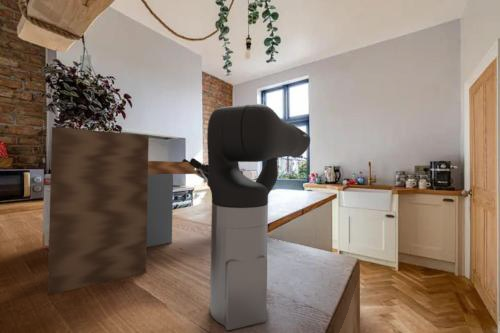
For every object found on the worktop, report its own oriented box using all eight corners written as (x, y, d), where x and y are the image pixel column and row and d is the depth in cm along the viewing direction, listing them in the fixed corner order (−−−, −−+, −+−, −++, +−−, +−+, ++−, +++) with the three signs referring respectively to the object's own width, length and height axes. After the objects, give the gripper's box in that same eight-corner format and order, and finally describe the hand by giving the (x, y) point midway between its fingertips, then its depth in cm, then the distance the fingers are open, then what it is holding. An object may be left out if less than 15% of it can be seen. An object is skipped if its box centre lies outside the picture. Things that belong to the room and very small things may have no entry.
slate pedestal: (163, 234, 76) (165, 173, 77) (171, 242, 68) (173, 174, 68) (108, 242, 67) (110, 173, 68) (110, 253, 59) (112, 174, 59)
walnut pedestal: (139, 257, 57) (141, 140, 57) (145, 272, 48) (148, 135, 49) (56, 273, 48) (59, 133, 48) (47, 295, 39) (51, 126, 40)
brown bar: (190, 173, 79) (190, 162, 79) (194, 174, 75) (194, 162, 76) (111, 173, 65) (111, 160, 65) (111, 174, 62) (112, 159, 62)
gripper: (218, 174, 91) (185, 152, 83) (236, 175, 79) (199, 150, 71) (210, 190, 88) (174, 170, 81) (227, 194, 77) (187, 170, 69)
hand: (186, 160), depth 76 cm, fingers open, 8 cm apart
